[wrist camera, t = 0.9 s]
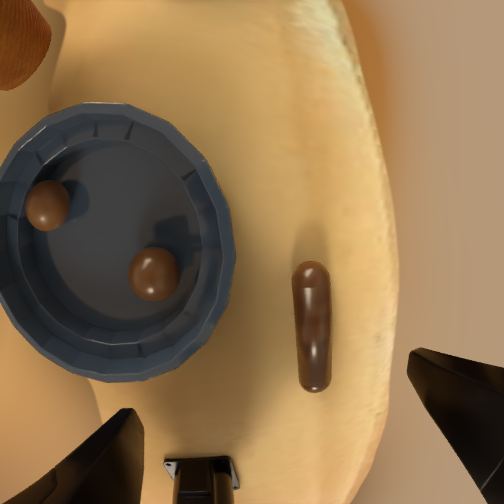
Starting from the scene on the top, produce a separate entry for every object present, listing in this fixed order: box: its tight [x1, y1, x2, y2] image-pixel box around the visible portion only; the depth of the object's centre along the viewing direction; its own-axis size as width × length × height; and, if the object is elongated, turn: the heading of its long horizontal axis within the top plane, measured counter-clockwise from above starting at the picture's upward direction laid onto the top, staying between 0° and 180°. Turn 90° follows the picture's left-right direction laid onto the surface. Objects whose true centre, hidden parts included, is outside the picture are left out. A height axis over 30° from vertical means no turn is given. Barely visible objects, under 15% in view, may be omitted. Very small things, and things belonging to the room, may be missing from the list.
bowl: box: [0, 102, 236, 383], centre depth 15 cm, size 15×15×4 cm
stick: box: [292, 261, 332, 393], centre depth 19 cm, size 10×2×2 cm, turn 7°
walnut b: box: [128, 247, 181, 301], centre depth 16 cm, size 3×3×3 cm
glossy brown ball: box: [25, 180, 71, 231], centre depth 14 cm, size 3×3×3 cm
